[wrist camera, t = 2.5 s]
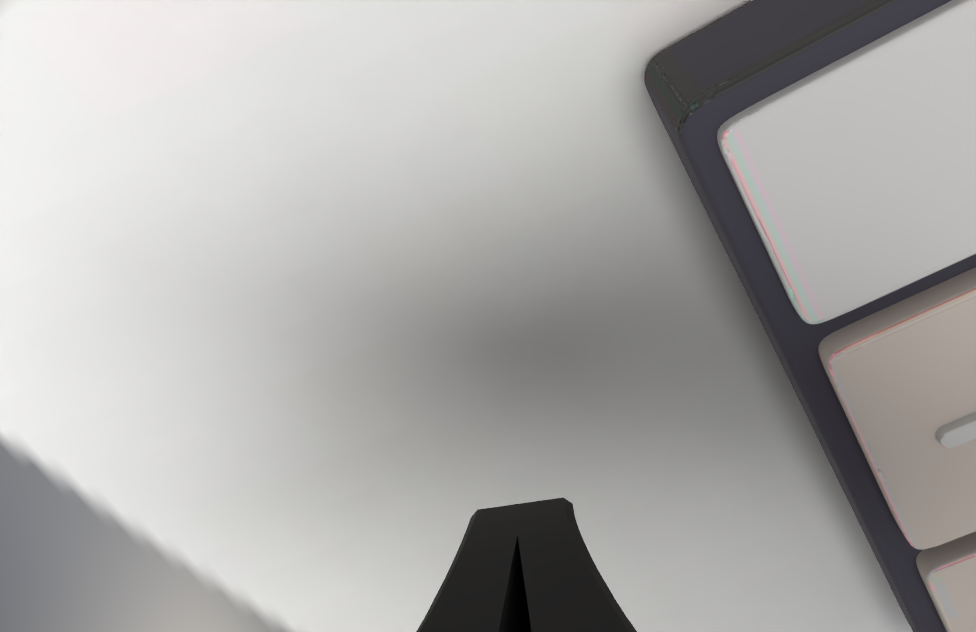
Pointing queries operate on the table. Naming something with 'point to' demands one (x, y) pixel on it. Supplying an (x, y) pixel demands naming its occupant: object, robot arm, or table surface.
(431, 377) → the table surface
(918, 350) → the button box
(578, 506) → the table surface
